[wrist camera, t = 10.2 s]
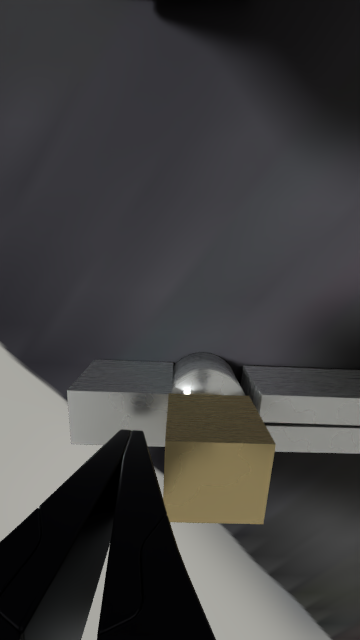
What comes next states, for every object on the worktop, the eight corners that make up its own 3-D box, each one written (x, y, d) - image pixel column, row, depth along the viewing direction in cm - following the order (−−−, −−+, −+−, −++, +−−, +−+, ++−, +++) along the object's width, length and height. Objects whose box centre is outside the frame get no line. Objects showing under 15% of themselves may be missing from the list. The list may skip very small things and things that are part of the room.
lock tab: (166, 456, 9) (162, 521, 7) (168, 393, 9) (165, 441, 6) (241, 458, 9) (263, 523, 7) (249, 395, 9) (275, 444, 6)
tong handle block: (97, 411, 12) (72, 456, 9) (94, 348, 12) (65, 376, 9) (232, 415, 13) (248, 461, 10) (238, 353, 12) (258, 382, 9)
